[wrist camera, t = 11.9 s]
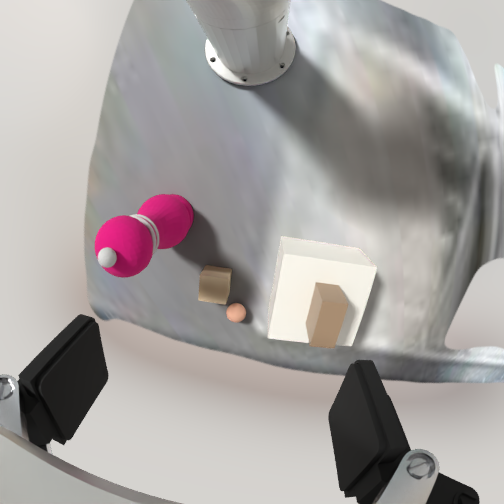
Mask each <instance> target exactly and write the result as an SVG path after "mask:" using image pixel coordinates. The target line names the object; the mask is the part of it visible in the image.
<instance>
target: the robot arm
mask: <svg viewBox="0 0 504 504" xmlns="http://www.w3.org/2000/svg"><path fill="white" fill-rule="evenodd" d="M186 1H187V3H188V4H189V6H190V8H191V9H192V11H193V13H194V15H195V17H196V18H197V20H198V22H199V24H200V25H201V27H202V29H203V31H204V33H205V34H206V36H207V41H206V44H205V54H206V59H207V61H208V64H209V65H210V67H211V68H212V70H213V71H214V72H215V73H216V74H217V75H218V76H220V77H221V78H222V79H224V80H226V81H228V82H230V83H233V84H237V85H243V86H256V85H262V84H265V83H268V82H271V81H273V80H275V79H277V78H278V77H280V76H281V75H282V74H283V73H285V72H286V70H287V69H288V68H289V67H290V65H291V63H292V61H293V59H294V55H295V49H296V46H295V40H294V37H293V34H292V32H291V31H290V29H289V28H288V27H287V24H288V17H289V9H290V1H291V0H186ZM286 35H288V36H286ZM214 60H215V62H213V61H214ZM280 66H283V67H284V68H280ZM244 79H246V80H247V81H246V82H244V81H243V80H244ZM19 378H20V379H19V380H18V381H16V379H15V378H14V377H12V376H10V375H0V504H181V503H177V502H173V501H169V500H165V499H161V498H158V497H154V496H150V495H147V494H144V493H141V492H138V491H134V490H132V489H129V488H125V487H123V486H120V485H117V484H114V483H112V482H109V481H107V480H105V479H102V478H100V477H97V476H95V475H93V474H90V473H88V472H86V471H84V470H82V469H79V468H77V467H75V466H73V465H71V464H69V463H67V462H65V461H63V460H61V459H59V458H58V457H56V456H53V455H52V451H51V447H50V441H51V440H52V439H53V440H55V441H57V442H59V443H61V444H63V445H64V444H65V443H66V441H67V440H70V439H71V438H72V437H73V435H74V433H75V432H76V430H77V429H78V427H79V425H80V424H81V422H82V420H83V419H84V417H85V416H86V414H87V412H88V411H89V409H90V408H91V406H92V404H93V403H94V401H95V400H96V398H97V396H98V395H99V393H100V392H101V390H102V389H103V387H104V386H105V384H106V382H107V380H108V371H107V366H106V362H105V357H104V352H103V347H102V342H101V337H100V331H99V326H98V323H96V322H95V319H94V318H92V317H89V316H85V315H82V314H80V315H78V316H77V317H76V318H75V319H74V320H73V321H72V322H71V323H70V324H69V325H68V326H67V327H66V328H65V329H64V330H63V331H61V332H60V333H59V334H58V336H56V337H55V338H54V339H53V340H52V341H51V342H50V343H49V344H48V345H47V346H46V347H45V348H44V349H43V350H42V351H41V352H40V353H39V354H38V355H37V356H36V357H35V358H34V360H33V361H32V362H31V363H30V364H29V365H28V366H27V367H26V368H25V369H24V370H23V371H22V372H21V373H20V374H19ZM329 424H330V431H331V436H332V442H333V448H334V454H335V461H336V468H337V474H338V481H339V488H340V490H341V491H344V494H345V497H355V496H356V498H357V502H358V504H479V496H478V494H477V492H476V491H475V490H474V489H473V488H471V487H469V486H467V485H465V484H462V483H460V482H458V481H455V480H454V479H451V478H449V477H447V476H445V475H443V474H441V473H439V463H438V461H437V459H436V457H435V456H434V455H433V454H432V453H430V452H429V451H427V450H423V449H415V450H411V449H410V447H409V444H408V441H407V439H406V436H405V433H404V431H403V428H402V426H401V423H400V421H399V418H398V415H397V413H396V410H395V408H394V406H393V403H392V401H391V399H390V397H389V396H388V395H387V393H386V391H385V388H384V386H383V383H382V381H381V379H380V376H379V374H378V372H377V369H376V367H375V365H374V363H373V361H371V360H357V361H356V362H355V363H354V364H351V365H350V367H349V369H348V371H347V374H346V376H345V378H344V381H343V383H342V385H341V387H340V390H339V392H338V394H337V396H336V398H335V401H334V403H333V405H332V407H331V409H330V412H329Z"/></svg>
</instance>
